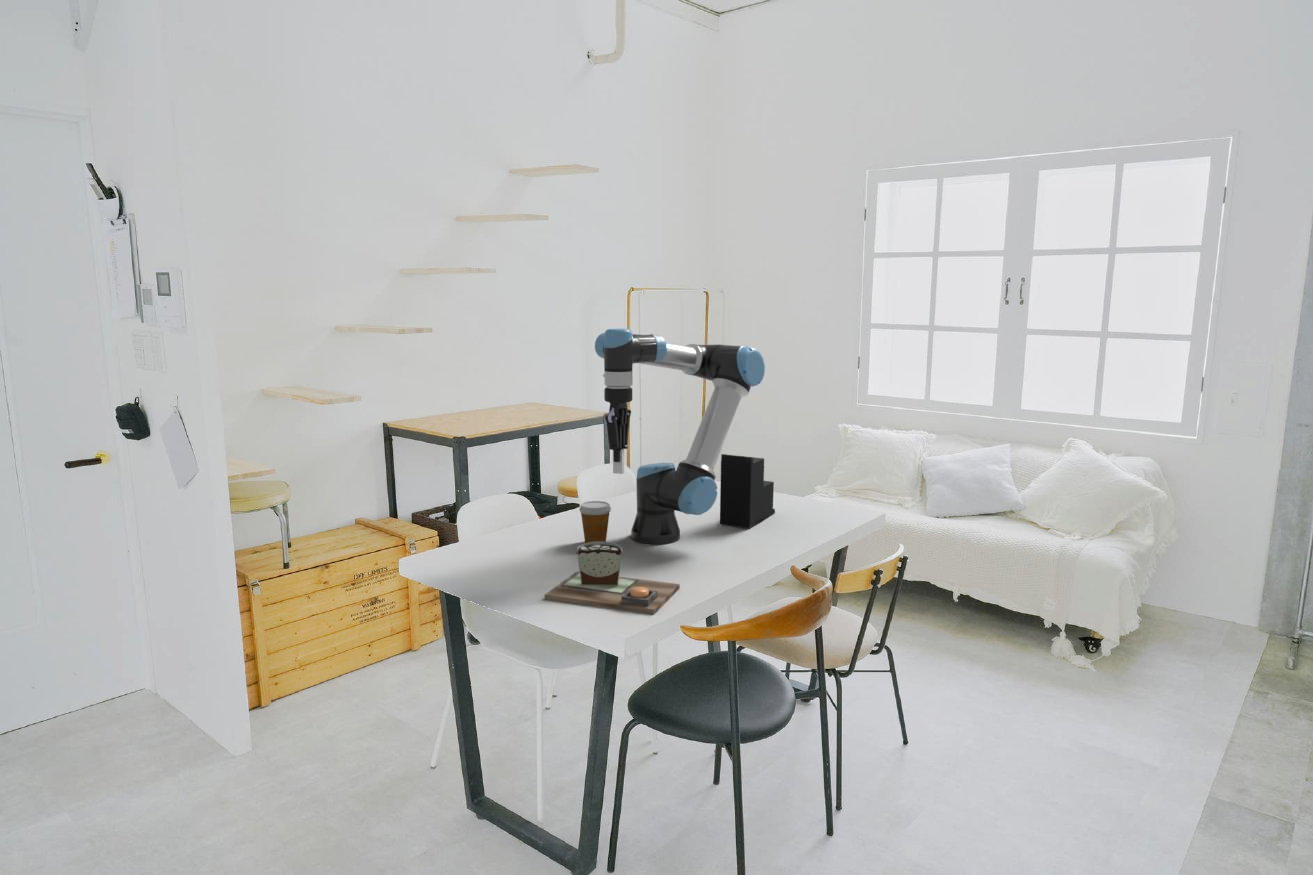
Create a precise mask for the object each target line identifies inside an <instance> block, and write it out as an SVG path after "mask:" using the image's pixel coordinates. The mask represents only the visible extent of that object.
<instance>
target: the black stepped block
mask: <svg viewBox="0 0 1313 875" xmlns="http://www.w3.org/2000/svg"><path fill="white" fill-rule="evenodd" d="M720 456H721V457H720V460H721V461H720V489H719V490H720V492H719V493H720V496H719V498H720V500H719V502H720V503H719V525H722V526H723V525H724V526H729V527H730V526H731V527H736V528H743V529H751V528H752V527H754V526H756V525H757V524H759V523H760V522H763V521H764V520H767V518H770V517H771V516H772V515H774V514H775V513H776V509H775V508H774V483H775V482H774V481H771V480H765V477H764V476H765V458H764V457H763V458H762V457H755V456H753V457H752V456H745V455H744V456H743V455H734V454H733V455H732V454H725V453H722V454H721V455H720Z"/></svg>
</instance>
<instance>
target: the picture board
mask: <svg viewBox="0 0 1313 875" xmlns="http://www.w3.org/2000/svg"><path fill="white" fill-rule="evenodd" d="M680 586H681V585H680V583H673V582H666V581H665V582H664V581H656V580H651V579H641V578H634V577H625V576H619V581H618V586H581V578H580V571H578V570H577V571H575V572H574V573H573V574H571V575H570V576H568V577H567V578H565V579H564V580H562V581H561V582H560V583H559V584H557V585H555V586H554V587H553V588H552V589H550V590H549V591H548V592H546V593H544V600H548V601H554V602H556V601H557V602H563V603H570V604H577V605H578V604H579V605H585V606H593V607H600V608H607V609H615V610H621V611H630V612H636V613H644V614H651V615H655V614H656V613H657V612H658V611H660V609H662V607H664V605H665V604H666V603H667V602H669V600H670V599H671V598H672V597H673V596H674V595H675V594H676V593H677V592H678V591H679V590H680ZM634 587H645V588H648V589H649V596H648V597H647V598H646V599H644V598H636V597H631V589H632V588H634Z"/></svg>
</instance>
